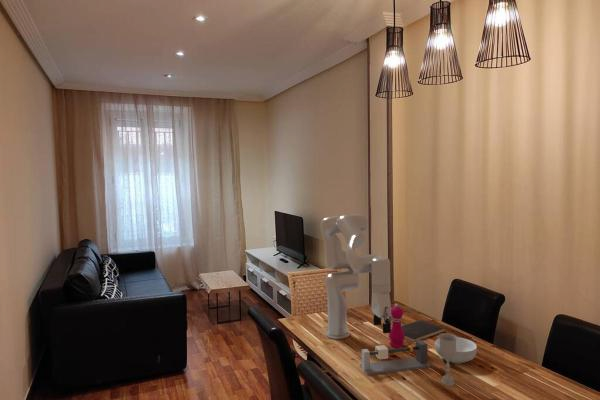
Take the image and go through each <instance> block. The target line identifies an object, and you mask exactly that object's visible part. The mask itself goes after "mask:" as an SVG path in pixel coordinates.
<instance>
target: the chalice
mask: <svg viewBox="0 0 600 400" xmlns="http://www.w3.org/2000/svg"><path fill="white" fill-rule="evenodd" d="M438 337H439V338H440V350H441V353H442V355H443V358H442V359H444V360H445V361H446V364H445V366H446V369H445V371H446V374H445V375H443V376H442V379H441V381H440V382H441V384H443V385H444V386H447V387H448V386H450V387H451V386H454V385H455V384H456V383H455V381H454V380H455V379H454V378H453V376H452V375H450V372H451V369H450V367H451V365H450V362H449V361H451V360H452V359H453V357H454V355H455V352H456V340H457V337H458V336H456V335H455V334H453V333H448V332H444V333H443V332H441V333H438ZM439 338H438V339H439Z"/></svg>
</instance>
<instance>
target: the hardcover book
mask: <svg viewBox="0 0 600 400" xmlns="http://www.w3.org/2000/svg"><path fill="white" fill-rule="evenodd" d="M401 327H402V330H403V332H404V335H405V339H406V340H408V341H410V342H413V343H414V342H415V343H416V341H419V340H423V339H425V338H428V337H432V336H435V335H437V334H438V335H439V334H441V333H443V332H444V333H445V327H442V326H439V325H437V324H434V323H432V322H428V321H426V320H423V319H419V320H415V321H412V322H409V323H406V324H403V325H402V324H401ZM405 339H404V340H405Z"/></svg>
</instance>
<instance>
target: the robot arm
mask: <svg viewBox="0 0 600 400" xmlns="http://www.w3.org/2000/svg"><path fill="white" fill-rule="evenodd" d="M367 229H369V222H368V219H367V217H366V216H365V215H364V214H362V213H352V214H345V215H333V216H328V217H325V218H323V219H322V220H321V222H320V233H321V236H322V237H321V238H322V239H323V242H324V252H325V261H326V262H325V263H326V267H327V269H329V270H332V271H336V270H344V269H345V270H346V271H337V272H332V273H329V274H327V275H326V277H325V278H324V279H325V280H324V283H325V284H324V285H325V288H326V296H327V297H326V298H327V299H326V300H327V329H326V330H325V331H324V335H325V336H326V337H327V338H328V339H333V340H343V339H346V338H349V337H350V335H351V332H350V330H349V329H348V322H347V315H348V314H347V312H348V311H347V310H348V309H347V298H346V297H345V296H344V294H343V293H342V292H346V291H352V290H357V289H358V288H359V287H360V274H367V273H371V305H370V306H371V312H372V315H373V316H372V319H373V325H374V326H381V325H382V333H383V334H389V333H391V328H392V325H391V324H392V320H391V317H392V315H391V308H392V305H391V296H390V295H391V294H390V293H391V289H392V288H391V260H390V259H389V257H383V256H382V255H381V254H379V253H372V254H361V255H360V254H359V255H358V254H357V253H356V251H355V250H357V249H358V248H360V247H361V246H363V244H364V243H365V241H366V235H365V233H364V232H365V231H366V230H367ZM337 234H341V235H342V236H343V238H344V239H345V241H346V243H347V244H346V245H347V246H346V248H345V249H343V245H342V240H341V238H340V237H339V236H338V235H337ZM382 322H383V323H382Z"/></svg>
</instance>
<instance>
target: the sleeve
mask: <svg viewBox="0 0 600 400" xmlns="http://www.w3.org/2000/svg"><path fill="white" fill-rule="evenodd" d="M374 347H375V349H374V351H378V354H377V355H375V356H376V358H377V359H378V360H386V359H389V353H388V350H389V348H388V347H387V346H386V345H385V344H381V345H375V346H374Z"/></svg>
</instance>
